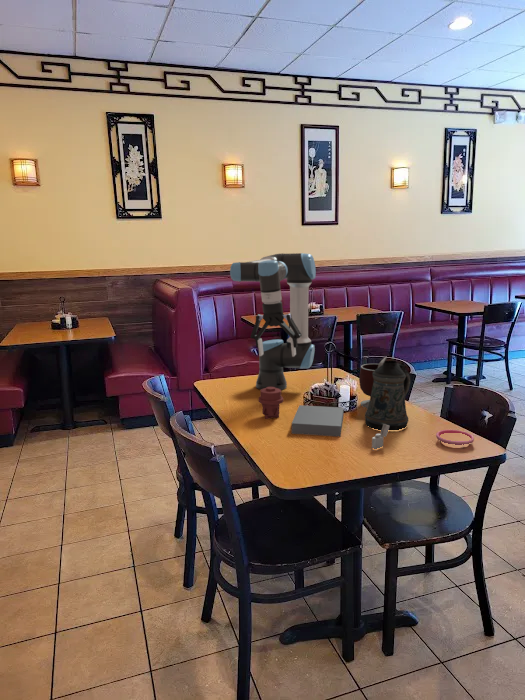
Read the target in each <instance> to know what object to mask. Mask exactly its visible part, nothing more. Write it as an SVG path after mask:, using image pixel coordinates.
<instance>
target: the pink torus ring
mask: <svg viewBox="0 0 525 700" xmlns="http://www.w3.org/2000/svg"><path fill="white" fill-rule="evenodd" d="M444 433H462V434H465V435H467V436H469V437H470V438H471V440H469V441H451V440H446V439H443V438H441V437H440V435H441V434H444ZM435 436H436V439H437V441H439V440H440V441H442V442H444V443H448V444H455V445H462V444H463V445H464V444H469V443H472V444H473V442H474V441H475V437H474V436H473V434H471V433H469V432H467V431H464V430H463V431H462V430H459V429H443V430H439V431H437V432H436V434H435ZM440 441H439V442H440Z"/></svg>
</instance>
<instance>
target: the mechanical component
mask: <svg viewBox="0 0 525 700" xmlns="http://www.w3.org/2000/svg"><path fill="white" fill-rule="evenodd" d="M283 402H284V396H282V390H280V389H278V388H275V387H266V388H264V389H261V390H260V395H259V397H258V403H259V404H260V405H262V412H261V413H262V415H264V418H265V420H269V419H279V417H280V405H281V404H282V403H283Z"/></svg>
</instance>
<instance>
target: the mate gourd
mask: <svg viewBox="0 0 525 700" xmlns="http://www.w3.org/2000/svg"><path fill="white" fill-rule="evenodd" d="M385 361H387V356H385V357H384V358H383V359H382V360H381V361H380V362H379V363H366V364H362V365H360V371H359V377H358V380H359V387H360V390H361V391H362V393H363V394H364V395H365V396H368V397H369V398H370V397H371V392H372V387H373V383H374V378H373V374H372V373H373V372H374V371H375V370H376V369H377V368H379V367H380V366H382V365H383V364H384V362H385ZM369 401H370V399H366V400H365V399H364V400H362V401H361V402H360V404H361V405H360V407H362V406H363V407H362V408H364V407H366V408H365V409H367V408H368V405H369Z"/></svg>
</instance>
